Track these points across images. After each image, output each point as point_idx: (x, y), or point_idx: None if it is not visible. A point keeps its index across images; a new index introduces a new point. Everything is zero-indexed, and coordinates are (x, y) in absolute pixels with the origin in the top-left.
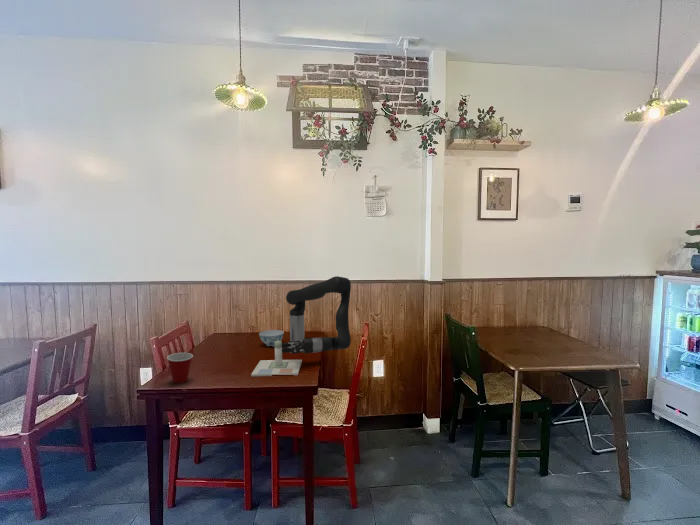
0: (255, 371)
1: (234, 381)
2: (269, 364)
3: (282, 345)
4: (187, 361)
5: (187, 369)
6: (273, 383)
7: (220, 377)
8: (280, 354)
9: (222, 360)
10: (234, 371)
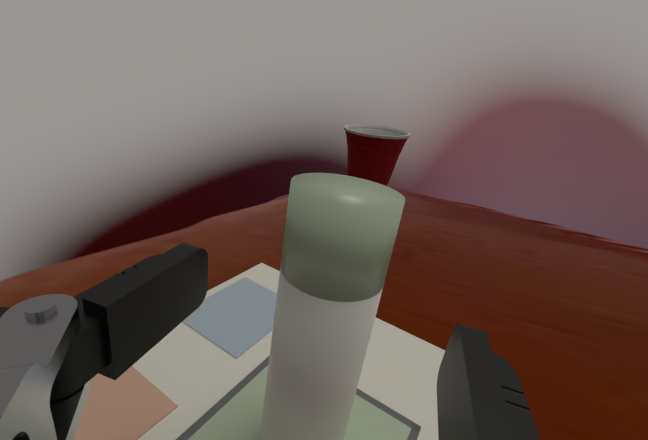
0: None
1: (260, 233)
2: (368, 387)
3: (449, 366)
4: (352, 139)
5: (355, 165)
6: (51, 289)
7: None
8: (272, 347)
9: (554, 282)
10: None
